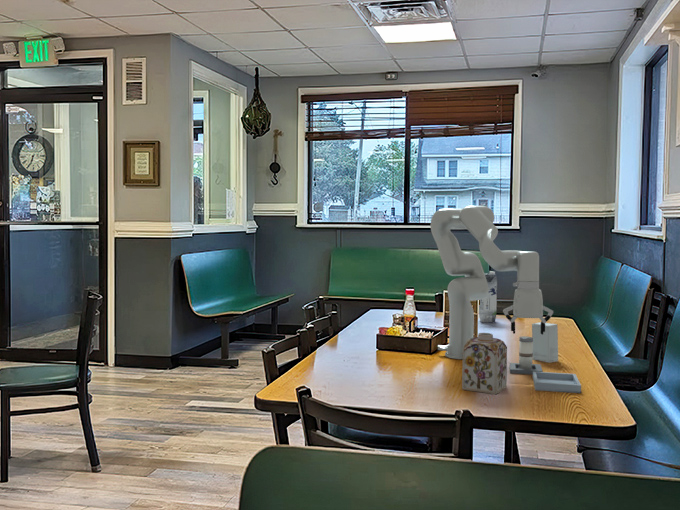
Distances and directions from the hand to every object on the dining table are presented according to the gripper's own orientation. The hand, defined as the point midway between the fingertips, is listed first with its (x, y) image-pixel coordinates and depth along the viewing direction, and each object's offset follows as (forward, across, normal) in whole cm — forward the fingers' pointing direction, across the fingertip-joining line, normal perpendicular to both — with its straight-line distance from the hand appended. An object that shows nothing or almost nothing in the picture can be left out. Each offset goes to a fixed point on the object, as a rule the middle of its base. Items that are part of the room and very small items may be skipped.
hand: (527, 333), depth 238 cm
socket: (+14, -1, +2) cm, 14 cm away
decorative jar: (+15, -15, -26) cm, 34 cm away
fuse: (+14, -1, +1) cm, 14 cm away
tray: (+15, +8, -16) cm, 23 cm away
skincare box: (+14, +7, +22) cm, 27 cm away
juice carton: (+12, -16, +117) cm, 118 cm away
